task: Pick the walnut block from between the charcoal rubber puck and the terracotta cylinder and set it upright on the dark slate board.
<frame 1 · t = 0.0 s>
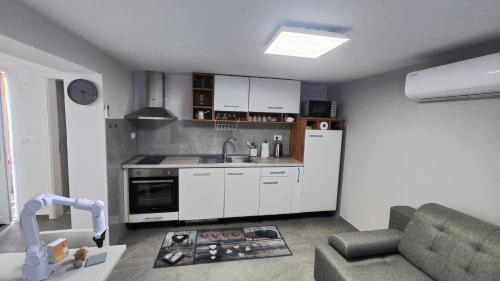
hand: (101, 243, 126), 10 cm above the table, tool pointing down, fingers open, 7 cm apart
terracotta cylinder: (84, 252, 135), on the table
walnut block: (81, 259, 129), on the table
small box: (59, 258, 130), on the table
slate board: (97, 259, 128), on the table
rubber puck: (78, 266, 123), on the table
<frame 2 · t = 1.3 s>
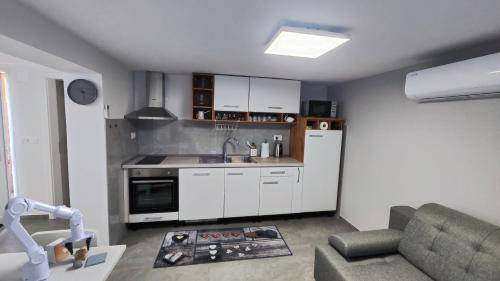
hand: (80, 252, 128), 5 cm above the table, tool pointing down, fingers open, 7 cm apart
nothing on the table moved.
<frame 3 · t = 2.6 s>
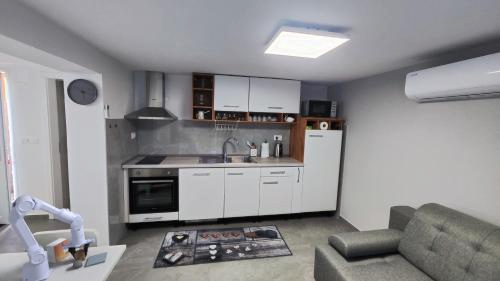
hand: (80, 257, 129), 1 cm above the table, tool pointing down, fingers closed on walnut block, 4 cm apart
walnut block: (81, 259, 129), on the table, touching gripper
everything else where it was.
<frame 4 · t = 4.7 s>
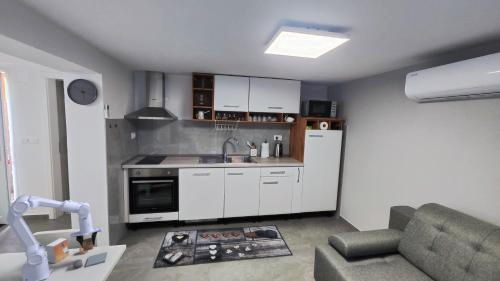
hand: (88, 245, 127), 9 cm above the table, tool pointing down, fingers closed on walnut block, 4 cm apart
walnut block: (89, 248, 128), point 7 cm above the table, touching gripper
everything else where it was.
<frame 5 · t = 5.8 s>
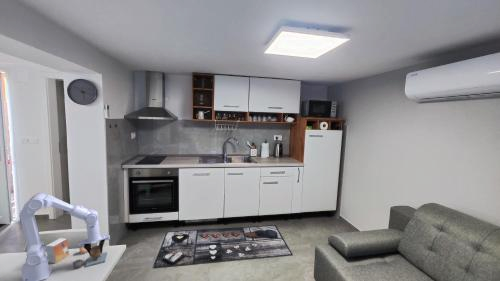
hand: (96, 253, 128), 4 cm above the table, tool pointing down, fingers closed on walnut block, 4 cm apart
walnut block: (96, 255, 128), point 2 cm above the table, touching gripper
everything else where it was.
when the fingers open (3 cm above the table, at t = 6.8 s): walnut block stays where it is, resting on slate board.
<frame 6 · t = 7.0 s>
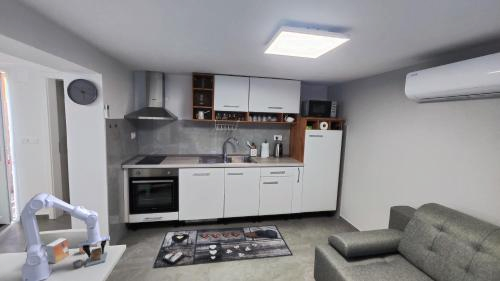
hand: (96, 254, 128), 3 cm above the table, tool pointing down, fingers open, 6 cm apart
walnut block: (96, 258, 128), point 1 cm above the table, touching slate board
everything else where it was.
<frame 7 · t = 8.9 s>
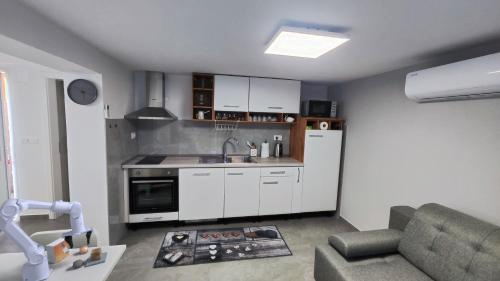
hand: (80, 245, 126), 9 cm above the table, tool pointing down, fingers open, 7 cm apart
nothing on the table moved.
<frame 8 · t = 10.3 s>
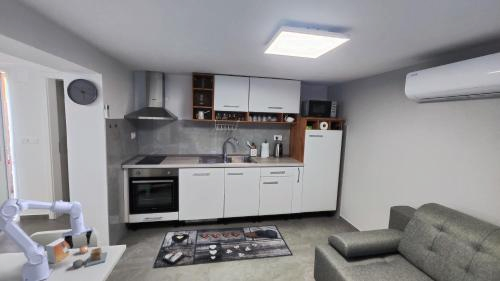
hand: (80, 245, 126), 9 cm above the table, tool pointing down, fingers open, 7 cm apart
nothing on the table moved.
at the end: walnut block 0.0 cm off-centre on the slate board, point 0.8 cm above the slate board's base; walnut block tilted 0°; rubber puck moved 0.1 cm from its start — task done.
